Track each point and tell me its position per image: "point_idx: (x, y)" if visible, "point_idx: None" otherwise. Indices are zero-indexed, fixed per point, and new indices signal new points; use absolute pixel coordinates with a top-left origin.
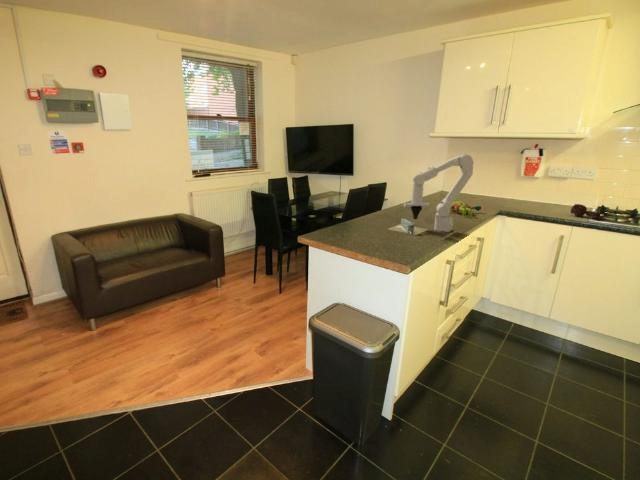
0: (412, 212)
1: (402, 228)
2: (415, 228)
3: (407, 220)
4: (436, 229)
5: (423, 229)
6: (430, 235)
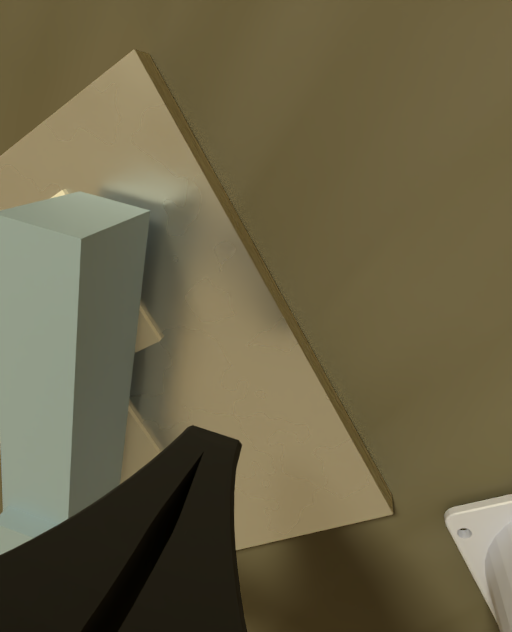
0: (83, 515)
1: None
2: (244, 404)
3: (66, 389)
4: (489, 584)
5: (324, 486)
6: (287, 603)
